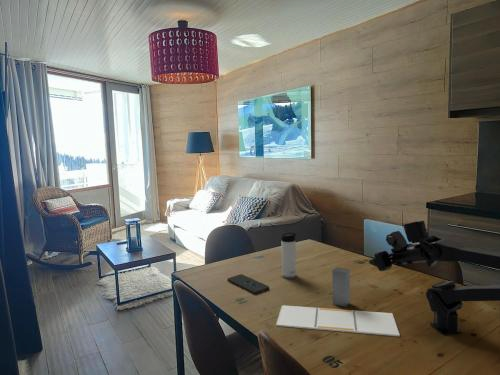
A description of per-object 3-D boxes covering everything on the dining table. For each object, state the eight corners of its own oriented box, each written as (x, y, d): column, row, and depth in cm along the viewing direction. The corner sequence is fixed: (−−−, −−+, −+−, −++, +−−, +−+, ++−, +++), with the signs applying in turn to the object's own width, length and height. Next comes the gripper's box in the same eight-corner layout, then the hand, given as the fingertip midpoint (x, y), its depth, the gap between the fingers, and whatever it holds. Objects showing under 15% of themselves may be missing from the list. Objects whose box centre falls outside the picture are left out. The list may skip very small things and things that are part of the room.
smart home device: (254, 292, 139) (226, 278, 155) (254, 296, 139) (226, 282, 155) (270, 286, 144) (241, 273, 160) (270, 290, 144) (241, 277, 160)
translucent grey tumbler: (349, 303, 129) (349, 269, 128) (345, 307, 126) (345, 272, 124) (336, 300, 132) (336, 267, 130) (332, 304, 129) (332, 270, 127)
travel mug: (296, 279, 154) (295, 235, 151) (281, 278, 155) (280, 234, 153) (297, 274, 160) (296, 231, 158) (283, 273, 161) (281, 231, 159)
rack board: (392, 314, 119) (392, 313, 119) (399, 336, 106) (399, 334, 106) (282, 306, 128) (282, 305, 128) (276, 325, 115) (276, 324, 115)
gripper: (422, 226, 123) (387, 234, 136) (388, 234, 113) (353, 242, 126) (433, 257, 120) (396, 262, 133) (399, 269, 111) (362, 273, 124)
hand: (377, 259), depth 129 cm, fingers open, 9 cm apart
